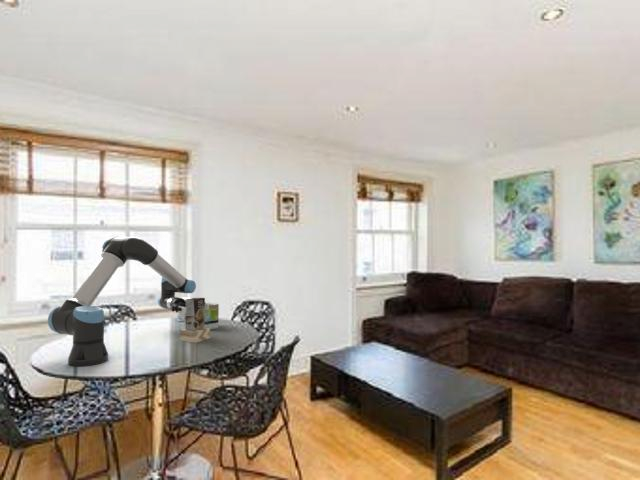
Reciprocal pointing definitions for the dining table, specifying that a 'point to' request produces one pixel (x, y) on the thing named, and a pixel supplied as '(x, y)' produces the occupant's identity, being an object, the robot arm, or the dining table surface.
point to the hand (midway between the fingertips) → (197, 308)
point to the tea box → (212, 316)
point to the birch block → (195, 334)
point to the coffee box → (195, 313)
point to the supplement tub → (182, 313)
